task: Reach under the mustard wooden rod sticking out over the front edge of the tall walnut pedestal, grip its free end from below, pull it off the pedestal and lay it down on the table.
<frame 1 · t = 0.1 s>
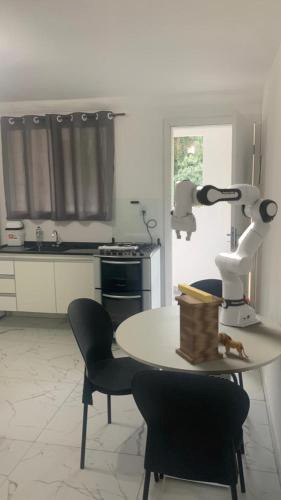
hand: (183, 239, 198), 48 cm above the table, tool pointing down, fingers open, 8 cm apart
lion figurine: (231, 355, 174), on the table
mustard rod: (194, 295, 174), point 26 cm above the table, touching walnut pedestal
walnut pedestal: (198, 354, 174), on the table
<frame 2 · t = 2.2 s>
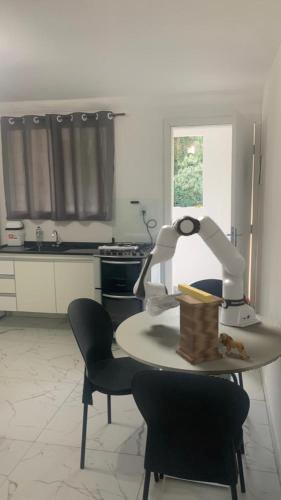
hand: (173, 295, 193), 22 cm above the table, tool pointing upward, fingers open, 8 cm apart
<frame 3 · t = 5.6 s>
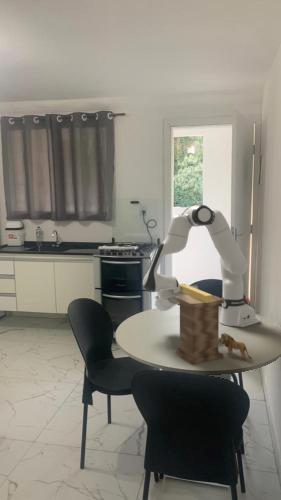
hand: (184, 287, 181), 28 cm above the table, tool pointing upward, fingers closed on mustard rod, 3 cm apart
mustard rod: (194, 295, 174), point 26 cm above the table, touching gripper, walnut pedestal
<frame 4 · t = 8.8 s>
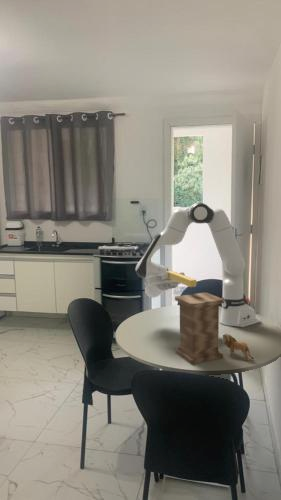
hand: (172, 274, 192), 32 cm above the table, tool pointing upward, fingers closed on mustard rod, 3 cm apart
mustard rod: (180, 281, 185), point 30 cm above the table, touching gripper
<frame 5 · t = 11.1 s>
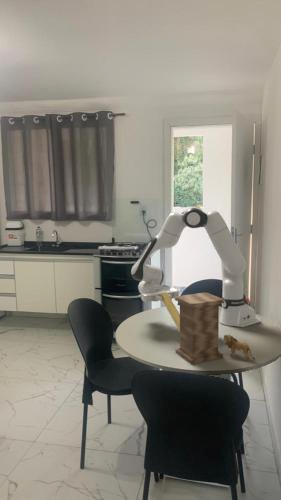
hand: (166, 298, 200), 18 cm above the table, tool horizontal, fingers closed on mustard rod, 3 cm apart
mustard rod: (172, 313, 195), point 12 cm above the table, tilted 30°, touching gripper
when the fingers open (13 cm above the table, at t = 12.5 s): mustard rod drops 8 cm, on the table.
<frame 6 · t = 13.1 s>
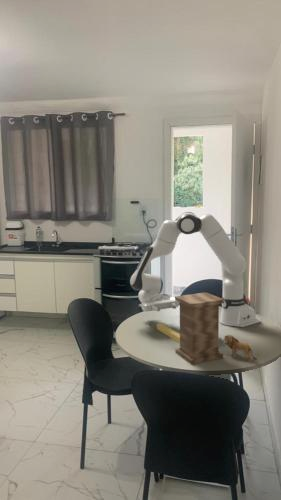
hand: (166, 308, 200), 13 cm above the table, tool horizontal, fingers open, 8 cm apart
mustard rod: (170, 335, 199), on the table
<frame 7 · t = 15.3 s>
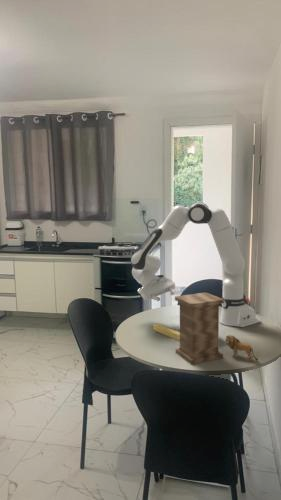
hand: (166, 297, 208), 17 cm above the table, tool tilted 70°, fingers open, 8 cm apart
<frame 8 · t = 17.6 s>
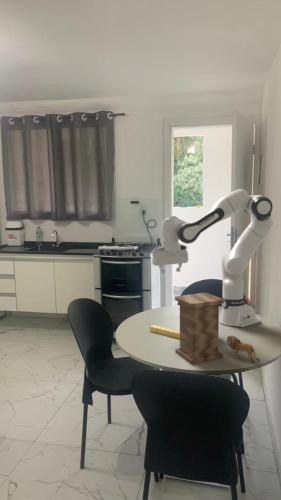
hand: (170, 272, 211), 29 cm above the table, tool pointing down, fingers open, 8 cm apart
at the end: mustard rod inside the target area (3.3 cm from its centre), on the table; the gripper is holding nothing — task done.
